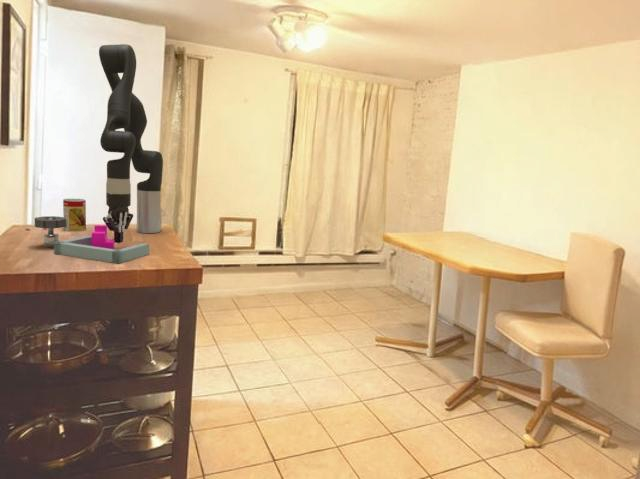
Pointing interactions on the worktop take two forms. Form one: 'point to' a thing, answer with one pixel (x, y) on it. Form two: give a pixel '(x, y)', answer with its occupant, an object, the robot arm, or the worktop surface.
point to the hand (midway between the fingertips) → (118, 242)
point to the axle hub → (50, 238)
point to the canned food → (74, 214)
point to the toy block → (101, 237)
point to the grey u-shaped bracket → (99, 250)
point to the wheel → (50, 222)
